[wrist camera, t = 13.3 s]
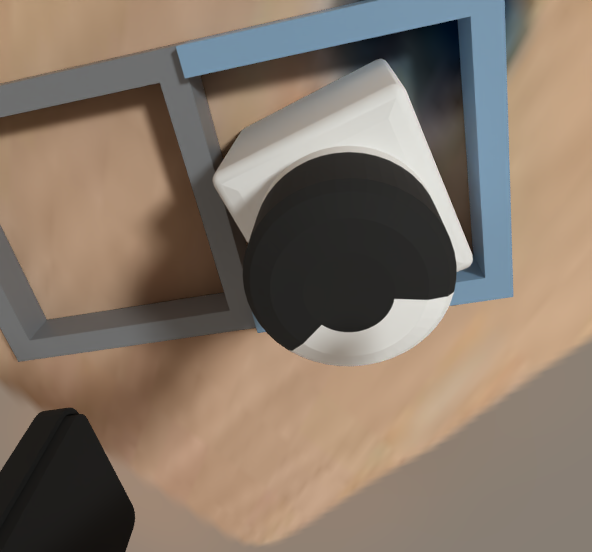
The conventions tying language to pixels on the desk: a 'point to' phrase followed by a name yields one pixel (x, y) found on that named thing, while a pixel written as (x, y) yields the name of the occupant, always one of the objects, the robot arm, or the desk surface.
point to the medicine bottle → (344, 222)
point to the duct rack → (207, 158)
